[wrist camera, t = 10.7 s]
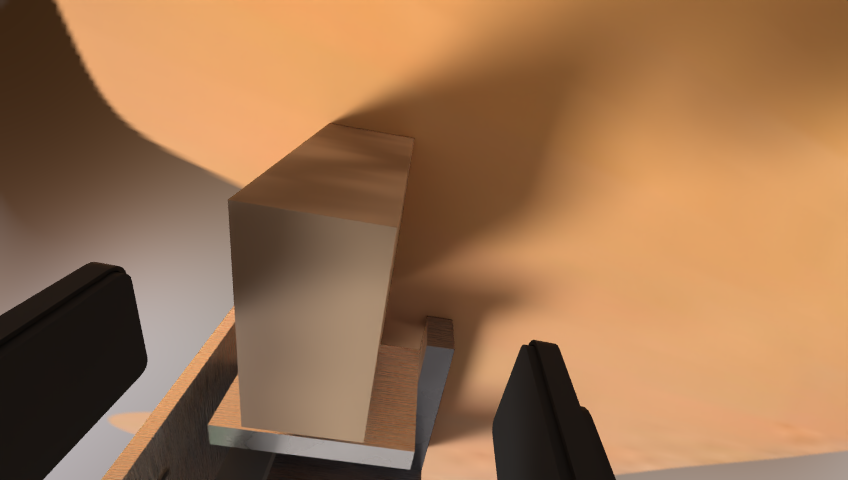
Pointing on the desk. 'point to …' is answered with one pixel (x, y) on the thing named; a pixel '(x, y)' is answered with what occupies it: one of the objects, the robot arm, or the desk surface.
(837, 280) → the desk surface
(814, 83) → the desk surface
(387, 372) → the plate
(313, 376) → the push block
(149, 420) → the stand
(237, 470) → the dark flat plank
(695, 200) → the desk surface
